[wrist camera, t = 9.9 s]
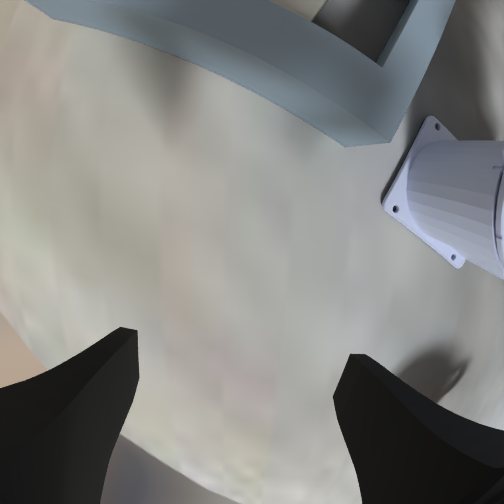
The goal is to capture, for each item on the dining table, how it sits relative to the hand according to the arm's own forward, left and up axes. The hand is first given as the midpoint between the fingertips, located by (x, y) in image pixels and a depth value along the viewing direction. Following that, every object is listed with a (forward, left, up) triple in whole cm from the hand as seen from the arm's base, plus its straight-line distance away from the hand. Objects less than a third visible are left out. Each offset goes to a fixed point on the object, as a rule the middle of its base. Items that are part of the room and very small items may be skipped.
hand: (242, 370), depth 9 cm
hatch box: (+10, -19, -10) cm, 24 cm away
